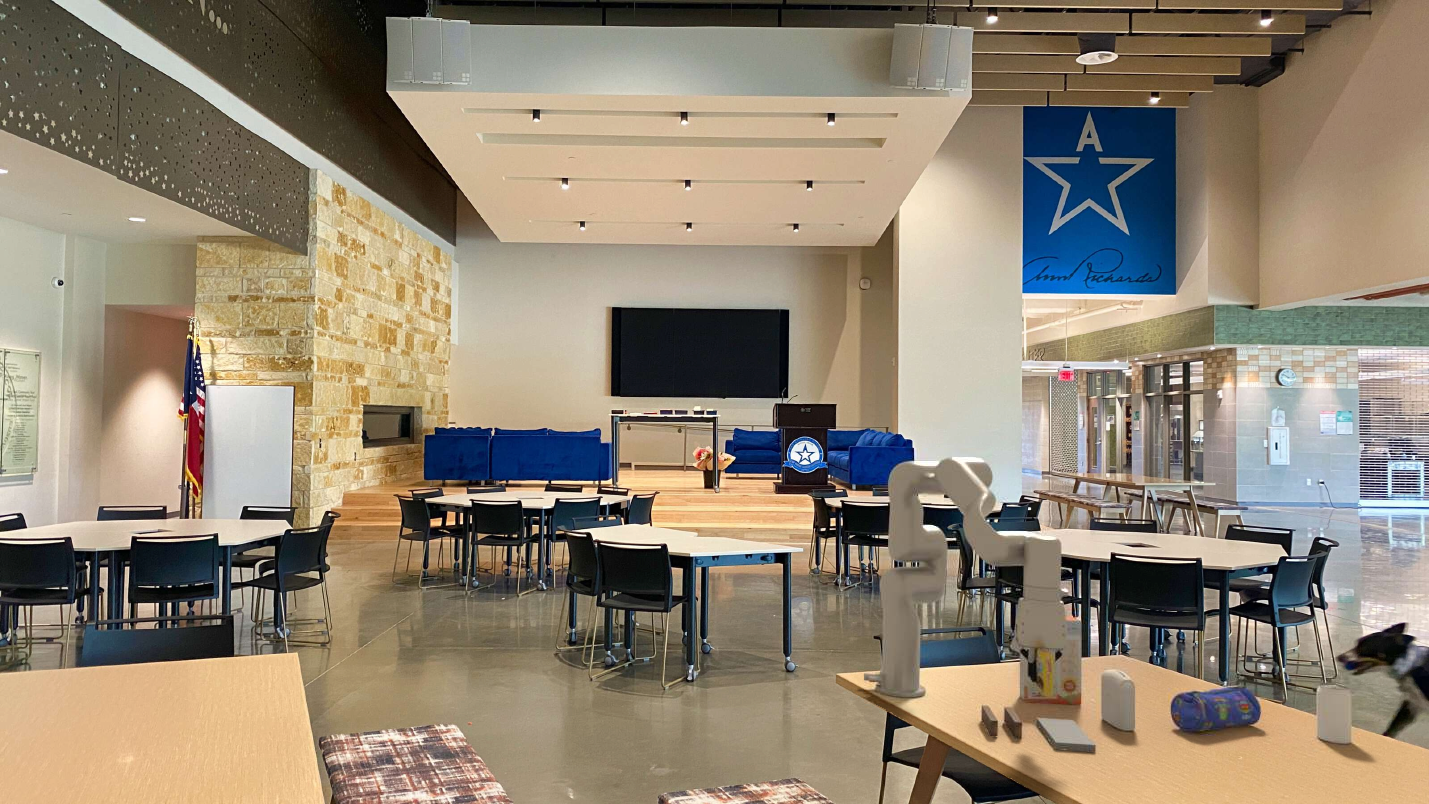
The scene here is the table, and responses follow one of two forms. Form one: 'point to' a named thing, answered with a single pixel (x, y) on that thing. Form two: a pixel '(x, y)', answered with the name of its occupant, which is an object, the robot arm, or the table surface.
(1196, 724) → the pencil case
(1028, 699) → the cracker box
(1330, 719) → the can
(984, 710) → the walnut rack
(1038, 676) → the candy box
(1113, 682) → the photo printer
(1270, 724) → the table surface
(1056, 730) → the grey plinth
